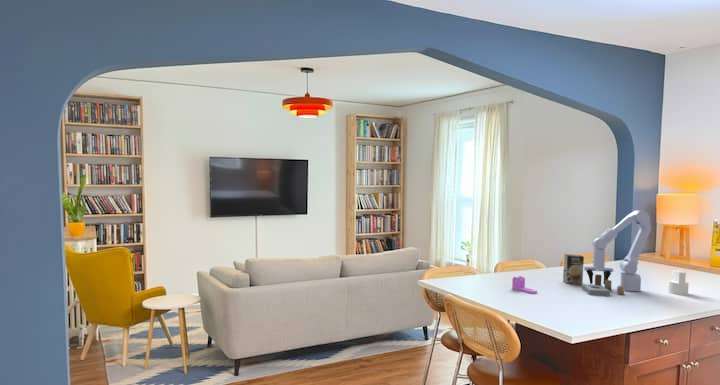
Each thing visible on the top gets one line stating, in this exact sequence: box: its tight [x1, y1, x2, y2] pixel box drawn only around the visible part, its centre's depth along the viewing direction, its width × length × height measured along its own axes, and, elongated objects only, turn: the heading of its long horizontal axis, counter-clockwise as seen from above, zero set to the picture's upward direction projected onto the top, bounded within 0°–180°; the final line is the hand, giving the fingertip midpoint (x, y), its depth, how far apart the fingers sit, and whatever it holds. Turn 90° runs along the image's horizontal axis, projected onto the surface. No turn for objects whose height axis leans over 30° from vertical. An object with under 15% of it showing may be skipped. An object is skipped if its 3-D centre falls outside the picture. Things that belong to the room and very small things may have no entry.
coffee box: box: [562, 253, 585, 285], centre depth 282 cm, size 9×6×16 cm
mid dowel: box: [604, 279, 612, 292], centre depth 264 cm, size 3×3×6 cm
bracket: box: [511, 275, 538, 295], centre depth 258 cm, size 13×6×7 cm, turn 33°
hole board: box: [581, 283, 611, 297], centre depth 259 cm, size 10×14×2 cm
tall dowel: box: [594, 274, 602, 285], centre depth 271 cm, size 3×3×7 cm
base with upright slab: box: [667, 269, 689, 296], centre depth 262 cm, size 9×9×12 cm
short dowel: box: [616, 285, 625, 296], centre depth 256 cm, size 3×3×4 cm
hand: (597, 284), depth 271 cm, fingers open, 6 cm apart
